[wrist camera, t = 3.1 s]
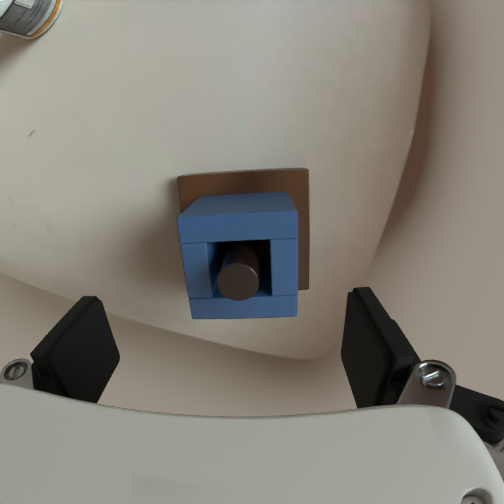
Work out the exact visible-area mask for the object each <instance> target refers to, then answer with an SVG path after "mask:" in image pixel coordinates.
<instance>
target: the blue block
mask: <svg viewBox="0 0 504 504" xmlns="http://www.w3.org/2000/svg"><path fill="white" fill-rule="evenodd" d="M177 225H178V233H179V240H180V243H181V245H180V246H181V253H182V259H183V266H184V273H185V279H186V285H187V291H188V297H189V303H190V309H191V315H192V319H245V318H274V317H295V316H297V306H298V295H297V294H298V239H297V238H298V221H297V210H296V208H295V206H294V204H293V202H292V200H291V198H290V196H289V194H288V192H268V193H247V194H230V195H215V196H201V197H199V198H198V199H197V200H196V201H195V202H193V203H192V204H191V205H190V206H189V207H188V208H187V209H186V210H185V211H183V212H182V213H181V214H180V215H179V216H178V217H177ZM265 239H269V255H270V257H260V261H259V287H258V290H257V292H256V293H255V294H254V295H253V296H252V297H251V298H249V299H247V300H244V301H234V300H230V299H228V298H226V297H225V296H224V295H223V294H222V293H221V292H220V290H219V288H218V286H217V277H218V274H219V271H220V268H221V264H222V261H223V258H224V255H225V252H224V241H242V240H265Z"/></svg>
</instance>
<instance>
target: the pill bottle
mask: <svg viewBox="0 0 504 504" xmlns="http://www.w3.org/2000/svg"><path fill="white" fill-rule="evenodd" d="M62 6H63V0H0V33H4V34H8V35H12V36H16V37H20V38H24V39H33V38H36V37H38V36H40V35H41V34H43V33H44V32H46V31H47V30H48V29H49V28H50V27H51V26H52V24H53V23H54V22H55V21H56V19H57V17H58V16H59V13H60V11H61V9H62Z"/></svg>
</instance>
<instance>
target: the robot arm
mask: <svg viewBox="0 0 504 504" xmlns="http://www.w3.org/2000/svg"><path fill="white" fill-rule="evenodd" d="M30 355H31V357H32V359H33V361H34V362H33V363H32V365H31V363H30V362H29V361H28V360H27V359H16V360H13V361H11V362H9V363H8V364H7V365H6V366H5V367H4V368H3V369H2V371H1V374H0V504H504V401H502V400H500V399H497V398H494V397H491V396H488V395H485V394H482V393H479V392H476V391H473V390H470V389H467V388H464V387H461V386H459V385H456V374H455V372H454V370H453V369H452V368H451V367H450V366H449V365H447V364H446V363H444V362H441V361H437V360H425V361H421V360H420V359H419V357H418V355H417V354H416V352H415V351H414V349H413V347H412V346H411V344H410V343H409V341H408V340H407V338H406V337H405V335H404V334H403V332H402V331H401V329H400V327H399V326H398V324H397V323H396V322H395V320H393V319H391V318H390V316H389V315H388V313H387V312H386V310H385V309H384V308H383V306H382V305H381V303H380V302H379V300H378V299H377V297H376V296H375V294H374V293H373V291H372V290H371V289H370V288H369V287H360V288H354V289H353V291H352V292H349V293H348V297H347V307H346V316H345V325H344V333H343V341H342V348H341V358H342V362H343V365H344V368H345V371H346V374H347V377H348V380H349V383H350V386H351V390H352V393H353V395H354V399H355V402H356V405H357V409H350V410H340V411H330V412H322V413H310V414H296V415H280V416H244V417H243V416H239V417H236V416H201V415H184V414H171V413H160V412H150V411H142V410H134V409H127V408H120V407H114V406H108V405H102V404H97V402H98V400H99V398H100V396H101V394H102V392H103V390H104V389H105V387H106V385H107V383H108V381H109V379H110V378H111V376H112V374H113V372H114V370H115V368H116V367H117V365H118V363H119V360H120V354H119V351H118V348H117V346H116V343H115V340H114V337H113V335H112V332H111V328H110V325H109V322H108V319H107V316H106V313H105V310H104V306H103V303H102V301H101V300H99V299H98V297H96V296H83V297H82V298H81V299H80V300H79V301H78V302H77V303H76V304H75V305H74V306H73V307H72V308H71V309H70V310H69V311H68V312H67V313H66V314H65V315H64V317H63V318H62V319H61V320H60V321H59V322H58V323H57V324H56V325H55V326H54V327H53V328H52V330H51V331H50V332H49V333H48V334H47V335H46V336H45V337H44V338H43V340H42V341H41V342H40V343H39V344H38V346H36V348H35V349H34V350H33V351H32V352H31V353H30Z"/></svg>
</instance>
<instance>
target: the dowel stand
mask: <svg viewBox="0 0 504 504" xmlns="http://www.w3.org/2000/svg"><path fill="white" fill-rule="evenodd" d="M177 180H178V190H179V200H180V208H181V213H182V212H183V211H185V210H186V209H187V208H188V207H189V206H190V205H191V204H192V203H193V202H195V201H196V200H197V199H198V198H199V197H201V196H215V195H230V194H247V193H268V192H288V194H289V196H290V198H291V200H292V202H293V204H294V206H295V208H296V210H297V221H298V238H297V239H298V290H308V289H309V236H310V229H309V170H308V169H306V168H283V169H259V170H241V171H226V172H212V173H201V174H190V175H181V176H179V177H177ZM224 252H225V255H224V258H223V261H222V264H221V268H220V271H219V274H218V277H217V286H218V288H219V290H220V292H221V293H222V294H223V295H224V296H225V297H226V298H228V299H230V300H234V301H244V300H247V299H249V298H251V297H252V296H253V295H254V294H255V293H256V292H257V290H258V287H259V261H260V257H270V255H269V239H265V240H242V241H224Z"/></svg>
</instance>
